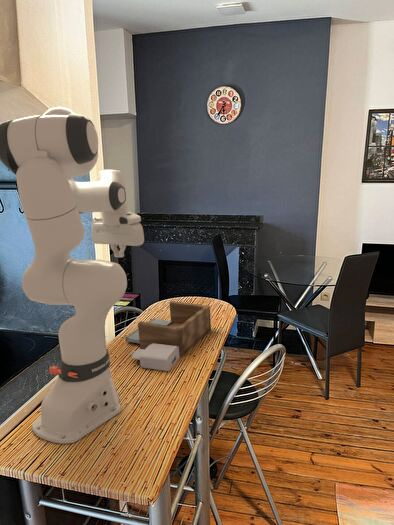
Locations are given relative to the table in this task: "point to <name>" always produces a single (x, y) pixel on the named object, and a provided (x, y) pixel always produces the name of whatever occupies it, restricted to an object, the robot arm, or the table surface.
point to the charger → (157, 356)
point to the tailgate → (135, 335)
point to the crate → (178, 327)
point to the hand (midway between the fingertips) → (119, 256)
